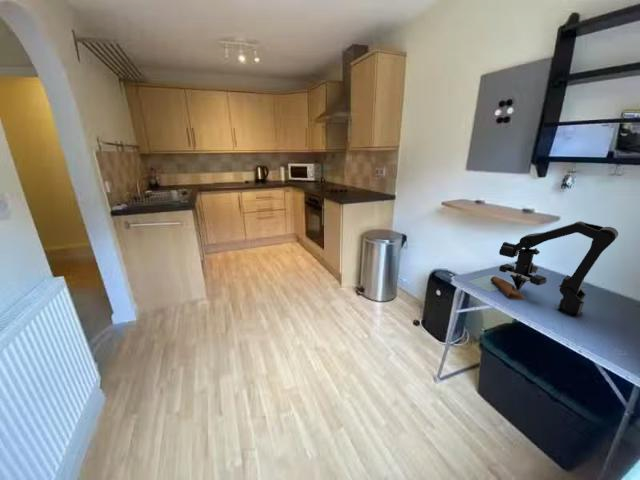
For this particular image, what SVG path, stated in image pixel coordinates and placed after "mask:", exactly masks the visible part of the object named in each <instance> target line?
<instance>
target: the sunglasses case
mask: <svg viewBox="0 0 640 480" xmlns="http://www.w3.org/2000/svg"><path fill="white" fill-rule="evenodd" d="M499 277H500V276H498V277H492V278H491V282H493V283H494V284H495V285H496V286H497V287H498V288H499V290H500V291H502V293H503V294H504V295H506V296H507V298H509V299H510V300H515V301H516V300H517V301H519V300H526V297H525V296H524V295H523V294H522V293H521V292H520V290H517V289H516V286H515V285H512V284H511V283H509V282H507V281H508V280H507V281H505V280H506V279H505V280H503V279H504V278H503V279H501V278H502V277H500V278H499Z"/></svg>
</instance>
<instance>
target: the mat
mask: <svg viewBox="0 0 640 480" xmlns="http://www.w3.org/2000/svg"><path fill="white" fill-rule="evenodd" d="M492 277H499V278H501V279H503V280H505V281H507V282H509V283H511V284H512V285H513V286H515V283H514V282H513V281H510V280H507V279H504V278H502V277H500V276H498V275H495V274H494V273H492V274H489V275H485V276H481V277H479V278H475V279H471V280H467V283H470V284H472V285H473V286H476V287H478V288H479V289H483V290H484V291H486V292H489V293H492V292H495V291H498V290H500V289H499V288H498V287H497V286H496V285H495V284H494V283H493V282H491V278H492Z"/></svg>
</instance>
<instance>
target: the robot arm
mask: <svg viewBox="0 0 640 480" xmlns="http://www.w3.org/2000/svg"><path fill="white" fill-rule="evenodd" d="M576 233H578V234H580V235H583V236H585V237H587V238H589V239H592V241H591V242H590V243H591V244H590V248H589V250H588V251H587V253H586V254H585V255H584V257H583V259H582V260H581V262H580V263H579V265H578V267H577V268H576V269H575V270H574V273H573V274H572V275H571V276H570V275H569V274H567V275H566V276H565V277H563V279H562V282H561V283H560V284H559V285H558V287H559V292H560V294H561V295H562V299H560V301H559V305H558V308H557V311H559V312H561V313H564V314H566V315H568V316H570V317H573V318H576V317H578V316H581V315H583V313H584V312H582V310H583V308H584V304H585V301H584V299H585V297H586V293H585V292H584V291H583V289H582V287H583V284H584V280H585V278H586V276H587V275H588V274H589V272H590V270H591V269H592V268H593V266H594V265H595V263H596V262H597V260H598V259H599V258H600V256H601V255H602V253H603V252H604V251H605V250H606V249H607V248H608V247H609V246H610V245H611V244H612V243H614V242H615V240H617V238H618V237H619V231H618V230H617V229H616V228H614V227H612V226H601V225H598V224H594V223H593V224H591V223H588V222H584V221H580V220H579V221H575V222H574V223H571V224H568V225H563V226H561V227H557V228H554V229H551V230H548V231H544V232H534V233H529V234H527V235H524V236H522V237H521V238H520V239H519V242H517V243H516V244H515V243H510V242H507V241H504V242H503V243H502V245H501V247H500V249H499V252H498V254H499V255H500V256H504V257H508V258H512V259H513V258H515V257H517V258H516V261H514V264H515V266H514V265H512V264H508V263H504V264H502V265H500V266H499V267H498V272H501V273H507V271H508V272H510V273H511V274H510V275H509V277H511V279H512V282H513V283H515V284H514V286H515V288H516V289H517V290H518V291H520V290H521V288H522V287H523V286H524V285H525V284H526V283H527V282H529V283H530V284H533V285H536V286H542V285H545V284H546V283H547V277H545V276H543V275H540V274H536V273H537V272H538V269H539V266H537V265H534V262H533V259H534V255H535V256H537V255H539V254H540V253H541V252H540V251H539V250H538V248H537V247H536V246H538V245H540V244H542V243H544V242H547V241H552V240H554V239H557V238H561V237H565V236H569V235H572V234H576ZM534 247H535V248H534ZM533 273H534V275H532V274H533Z"/></svg>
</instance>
